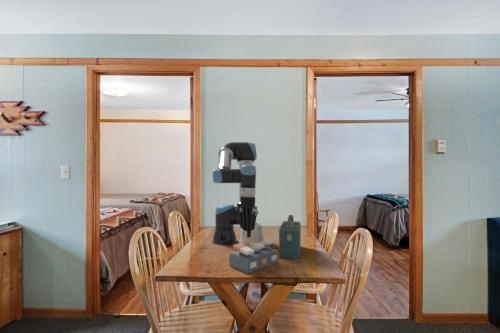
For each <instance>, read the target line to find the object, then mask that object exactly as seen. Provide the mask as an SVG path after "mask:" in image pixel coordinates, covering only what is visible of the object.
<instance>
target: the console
mask: <svg viewBox="0 0 500 333" xmlns="http://www.w3.org/2000/svg"><path fill="white" fill-rule="evenodd" d="M270 245H271V244H268V246H264V248H261V249H254V250H255V251H254V254H250V255H245V254H244V253H240V252H239V251H238V250H235V251H232V252H229V253H228V254H229V255H228V256H229V263H228V265H229V267H231V268H234V269H237V270H239V271H242V272H244V273H246V274H250V273H253V272H256V271H258V270H260V269H264V268H268V267H269V266H272V265H275V264H278V262H279V261H278V259H279V257H278V256H279V249H275V248H271V247H270Z"/></svg>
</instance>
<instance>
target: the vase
mask: <svg viewBox="0 0 500 333" xmlns="http://www.w3.org/2000/svg"><path fill="white" fill-rule="evenodd" d="M240 229H241V230H240V237H239V240H238V241H239V242H238V244H239V243H241V244H243V243H244V236H243V229H242V228H240ZM264 241H265V239H264V234H263V228H262V224H261V223H259V222H256V223H255V228H254V230H251V237H250V243H258V242H264ZM243 245H244V244H243Z"/></svg>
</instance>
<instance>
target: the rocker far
mask: <svg viewBox="0 0 500 333" xmlns="http://www.w3.org/2000/svg"><path fill="white" fill-rule="evenodd" d="M255 244H264V247H267V246H268V244H270V245H271V244H274V239H271V240H264V242H258V243H255Z"/></svg>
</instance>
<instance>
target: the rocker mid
mask: <svg viewBox="0 0 500 333" xmlns="http://www.w3.org/2000/svg"><path fill="white" fill-rule="evenodd" d="M244 245H245V246H247V247H249V248H251V249H253V250H254V249H261V248H264V247H265V246H264V244H255V243H249V244H244Z"/></svg>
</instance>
